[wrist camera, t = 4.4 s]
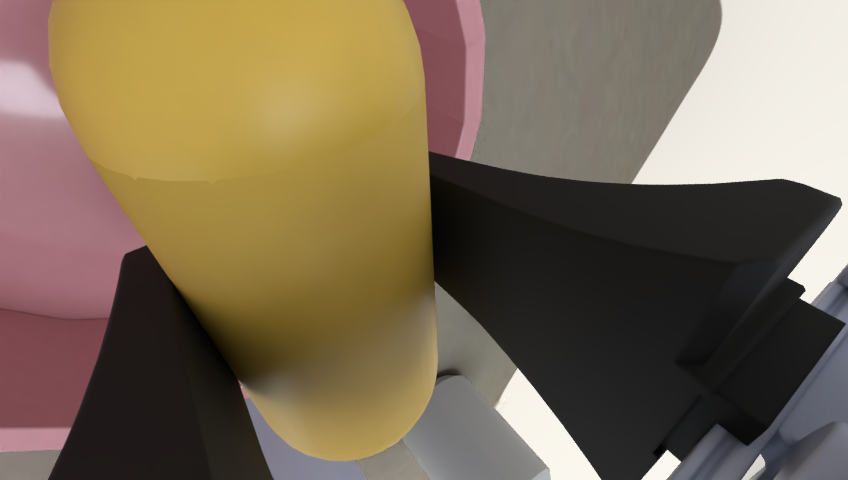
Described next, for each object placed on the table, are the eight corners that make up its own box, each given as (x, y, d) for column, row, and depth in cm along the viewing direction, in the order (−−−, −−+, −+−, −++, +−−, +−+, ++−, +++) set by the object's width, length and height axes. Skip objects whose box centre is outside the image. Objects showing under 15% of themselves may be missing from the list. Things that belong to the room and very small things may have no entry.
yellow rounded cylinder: (385, 314, 14) (472, 416, 11) (258, 390, 12) (326, 533, 10) (288, -230, 6) (523, -326, 3) (-145, -245, 4) (-477, -509, 1)
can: (400, 443, 38) (492, 576, 31) (387, 409, 33) (493, 560, 26) (463, 392, 41) (561, 504, 34) (459, 354, 36) (574, 476, 28)
